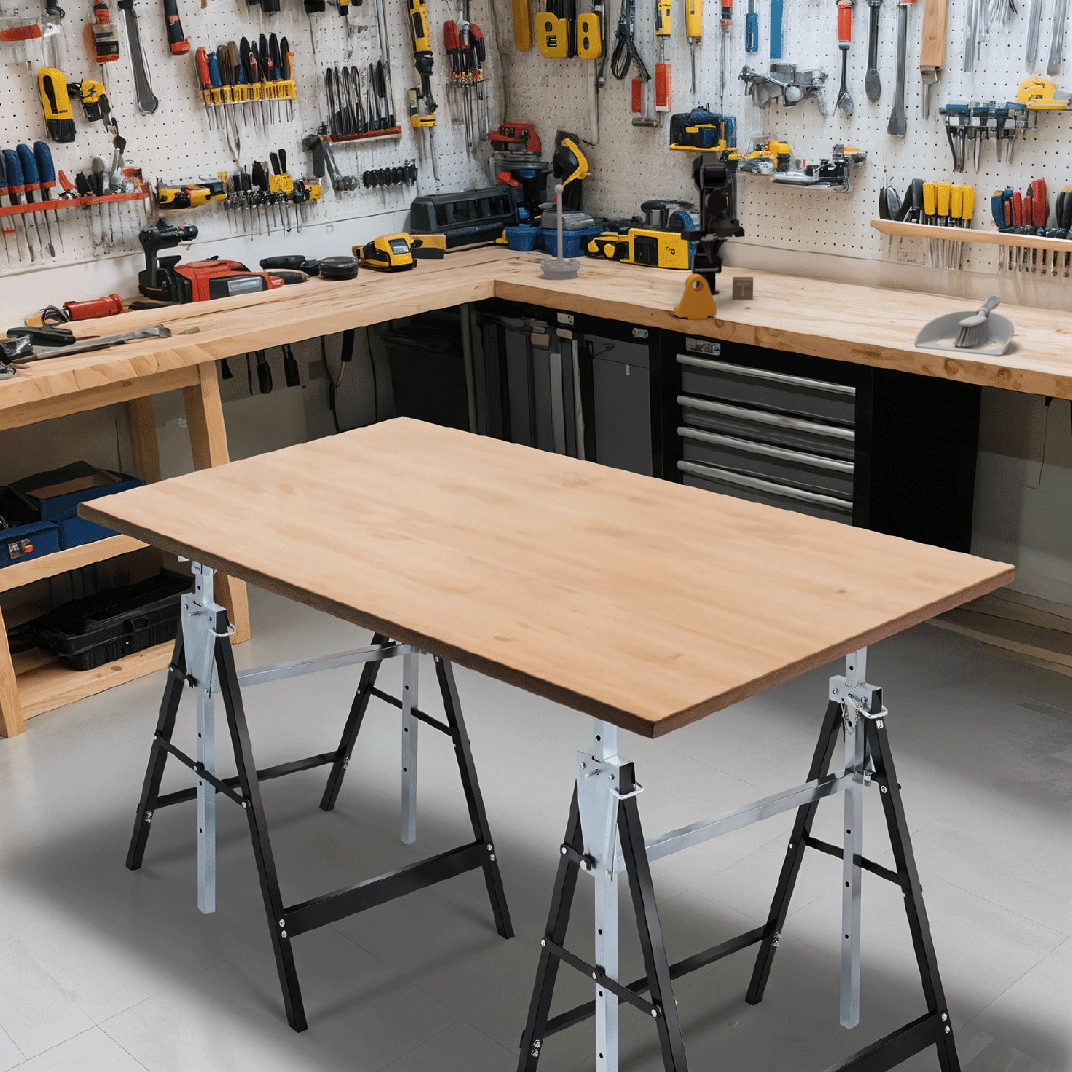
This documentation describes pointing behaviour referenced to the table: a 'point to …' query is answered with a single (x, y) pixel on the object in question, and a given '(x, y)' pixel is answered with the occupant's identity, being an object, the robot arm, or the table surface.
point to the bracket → (696, 300)
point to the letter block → (742, 288)
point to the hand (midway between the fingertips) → (712, 263)
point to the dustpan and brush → (968, 329)
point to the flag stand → (560, 251)
